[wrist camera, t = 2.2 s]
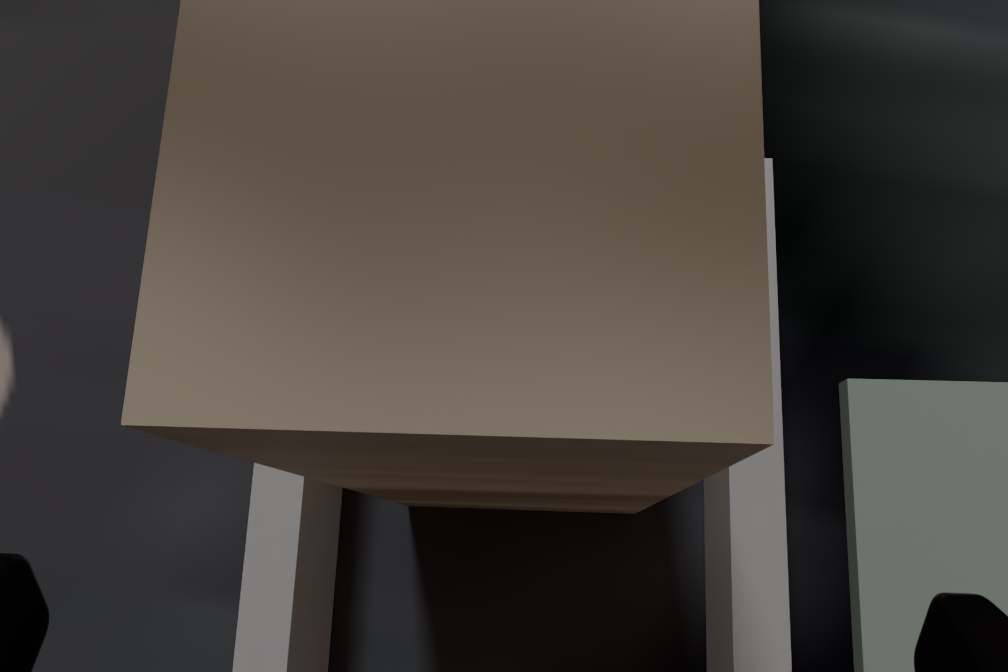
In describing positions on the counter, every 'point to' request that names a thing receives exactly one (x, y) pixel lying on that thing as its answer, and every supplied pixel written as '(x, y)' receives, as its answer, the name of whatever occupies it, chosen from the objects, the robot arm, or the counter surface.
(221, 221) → the beech block
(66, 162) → the counter surface
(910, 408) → the pad
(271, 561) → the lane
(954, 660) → the robot arm
